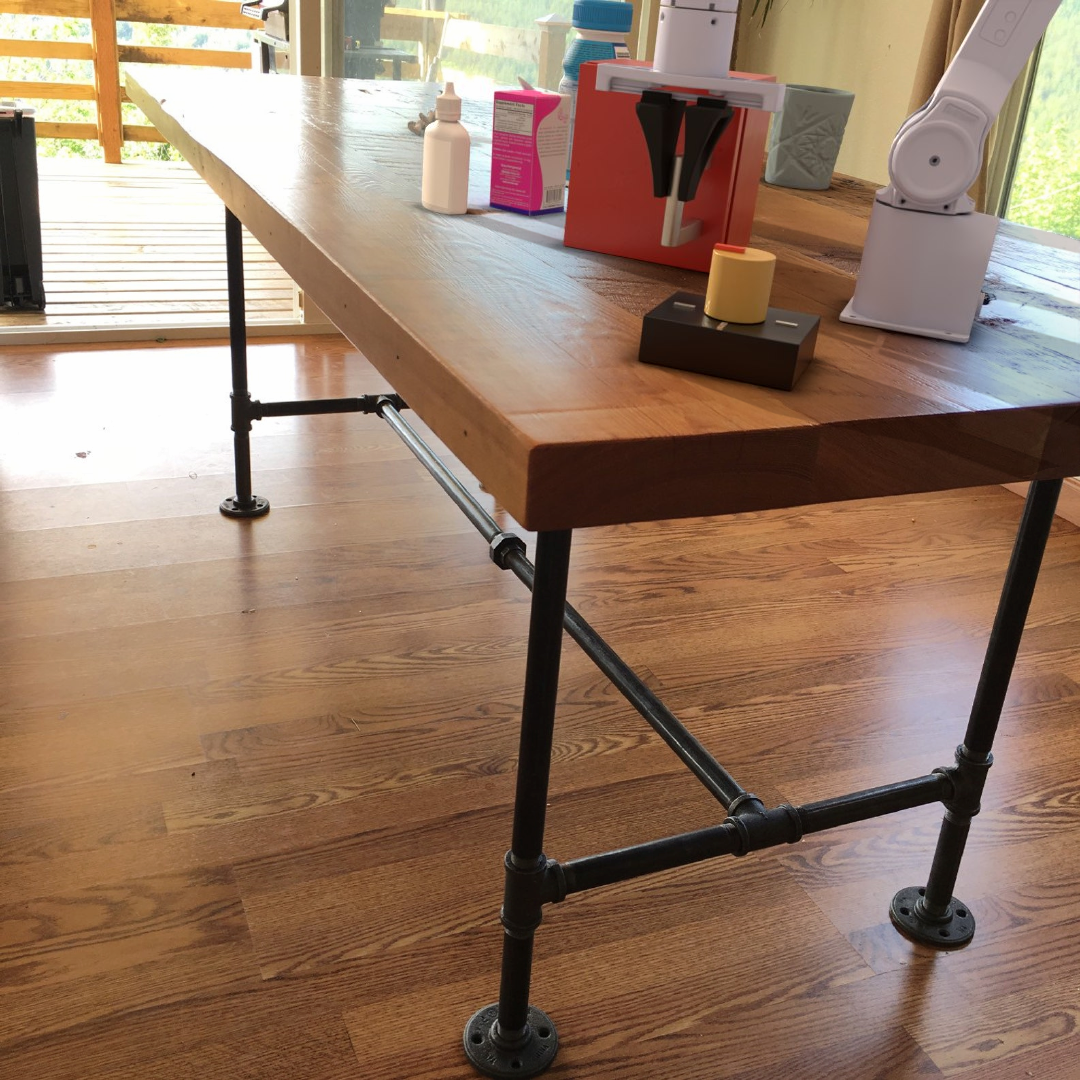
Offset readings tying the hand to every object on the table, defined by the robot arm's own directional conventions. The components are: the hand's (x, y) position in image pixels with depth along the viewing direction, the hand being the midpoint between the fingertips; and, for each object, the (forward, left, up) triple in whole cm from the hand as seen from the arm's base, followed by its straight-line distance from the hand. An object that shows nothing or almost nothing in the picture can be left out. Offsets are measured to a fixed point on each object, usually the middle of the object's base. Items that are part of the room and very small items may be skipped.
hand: (673, 198), depth 89 cm
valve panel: (-10, +18, -7) cm, 21 cm away
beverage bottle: (+22, -42, -7) cm, 48 cm away
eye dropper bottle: (+27, -14, -7) cm, 32 cm away
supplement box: (+21, -21, -7) cm, 31 cm away
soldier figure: (+56, -68, -7) cm, 89 cm away
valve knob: (-10, +18, -4) cm, 21 cm away
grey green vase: (+1, -68, -7) cm, 69 cm away
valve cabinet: (+4, -13, -7) cm, 16 cm away
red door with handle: (+4, -4, -7) cm, 9 cm away
